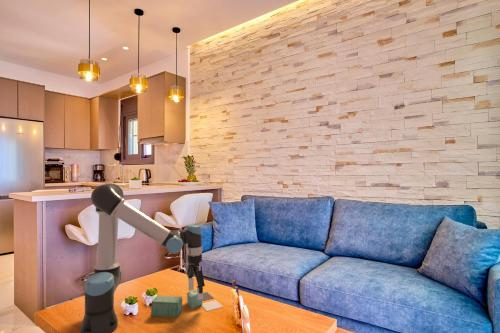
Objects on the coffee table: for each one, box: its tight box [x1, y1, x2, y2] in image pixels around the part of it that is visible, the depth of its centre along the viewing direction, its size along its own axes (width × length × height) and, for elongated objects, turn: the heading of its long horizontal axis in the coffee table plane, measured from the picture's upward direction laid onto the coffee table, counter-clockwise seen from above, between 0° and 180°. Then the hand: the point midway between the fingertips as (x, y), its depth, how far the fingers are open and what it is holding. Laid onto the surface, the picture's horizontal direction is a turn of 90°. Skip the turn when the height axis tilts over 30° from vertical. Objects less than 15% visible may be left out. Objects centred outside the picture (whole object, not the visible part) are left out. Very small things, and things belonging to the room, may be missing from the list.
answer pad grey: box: [200, 299, 224, 312], centre depth 153 cm, size 9×9×1 cm
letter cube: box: [186, 289, 203, 309], centre depth 155 cm, size 6×6×6 cm
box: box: [150, 295, 183, 318], centre depth 145 cm, size 7×14×8 cm, turn 86°
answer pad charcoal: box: [202, 291, 214, 302], centre depth 163 cm, size 9×9×1 cm
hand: (195, 294), depth 155 cm, fingers open, 13 cm apart
